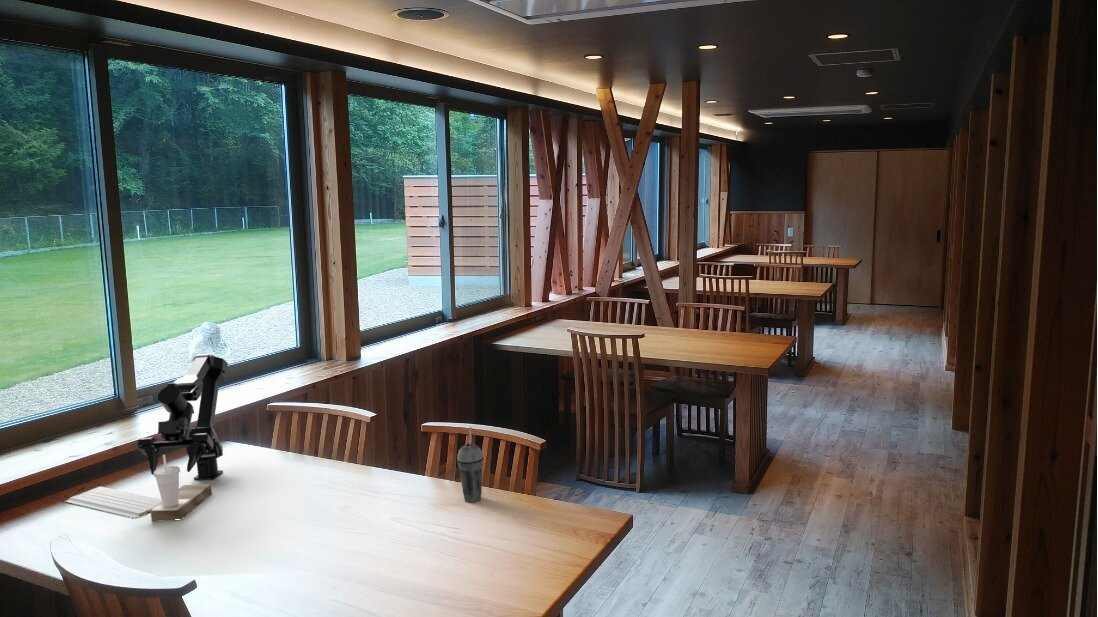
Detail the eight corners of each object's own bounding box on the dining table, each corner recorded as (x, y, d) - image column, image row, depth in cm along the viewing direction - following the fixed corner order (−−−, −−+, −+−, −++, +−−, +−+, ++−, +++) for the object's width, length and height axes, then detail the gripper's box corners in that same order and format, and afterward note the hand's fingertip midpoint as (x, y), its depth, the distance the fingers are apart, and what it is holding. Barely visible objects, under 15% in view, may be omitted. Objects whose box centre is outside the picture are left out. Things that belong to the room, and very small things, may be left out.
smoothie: (153, 509, 206) (147, 459, 204) (163, 500, 212) (157, 451, 210) (178, 508, 206) (172, 457, 204) (187, 498, 212) (181, 449, 210)
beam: (184, 494, 224) (183, 484, 224) (212, 494, 224) (210, 483, 224) (150, 521, 206) (149, 510, 205) (180, 520, 206) (178, 509, 205)
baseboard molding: (130, 523, 208) (169, 506, 218) (128, 512, 207) (168, 496, 218) (60, 506, 222) (100, 491, 232) (59, 496, 221) (99, 481, 232)
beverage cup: (454, 503, 209) (449, 431, 206) (467, 493, 215) (462, 423, 212) (478, 506, 206) (474, 433, 203) (490, 495, 213) (486, 425, 210)
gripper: (134, 410, 212) (122, 463, 202) (205, 405, 213) (196, 457, 204) (149, 429, 221) (138, 480, 211) (217, 423, 222) (209, 474, 213)
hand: (170, 472), depth 210 cm, fingers open, 9 cm apart
